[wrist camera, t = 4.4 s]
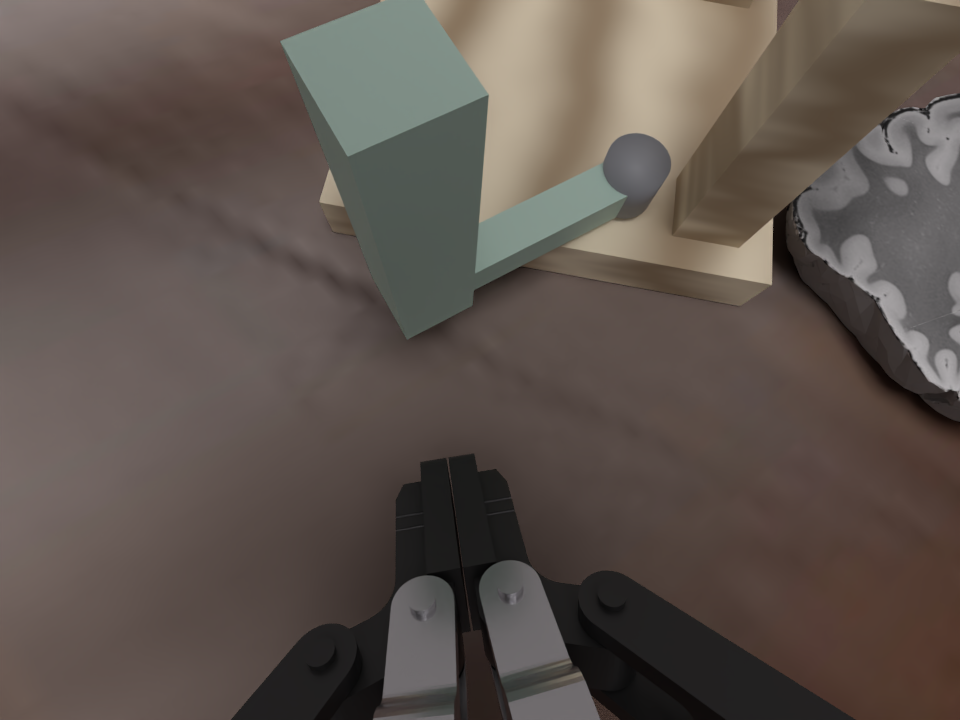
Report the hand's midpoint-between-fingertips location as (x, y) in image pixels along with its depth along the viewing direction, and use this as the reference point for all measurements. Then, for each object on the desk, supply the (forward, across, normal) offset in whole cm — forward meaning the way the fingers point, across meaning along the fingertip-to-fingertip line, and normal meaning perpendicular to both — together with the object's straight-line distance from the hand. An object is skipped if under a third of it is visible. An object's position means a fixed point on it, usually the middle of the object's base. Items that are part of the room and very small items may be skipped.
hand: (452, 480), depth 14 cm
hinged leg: (+10, +4, +3) cm, 11 cm away
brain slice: (+10, +27, -2) cm, 29 cm away
